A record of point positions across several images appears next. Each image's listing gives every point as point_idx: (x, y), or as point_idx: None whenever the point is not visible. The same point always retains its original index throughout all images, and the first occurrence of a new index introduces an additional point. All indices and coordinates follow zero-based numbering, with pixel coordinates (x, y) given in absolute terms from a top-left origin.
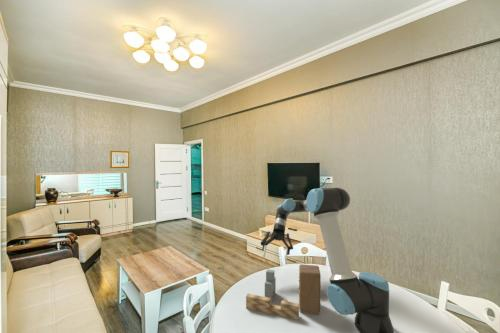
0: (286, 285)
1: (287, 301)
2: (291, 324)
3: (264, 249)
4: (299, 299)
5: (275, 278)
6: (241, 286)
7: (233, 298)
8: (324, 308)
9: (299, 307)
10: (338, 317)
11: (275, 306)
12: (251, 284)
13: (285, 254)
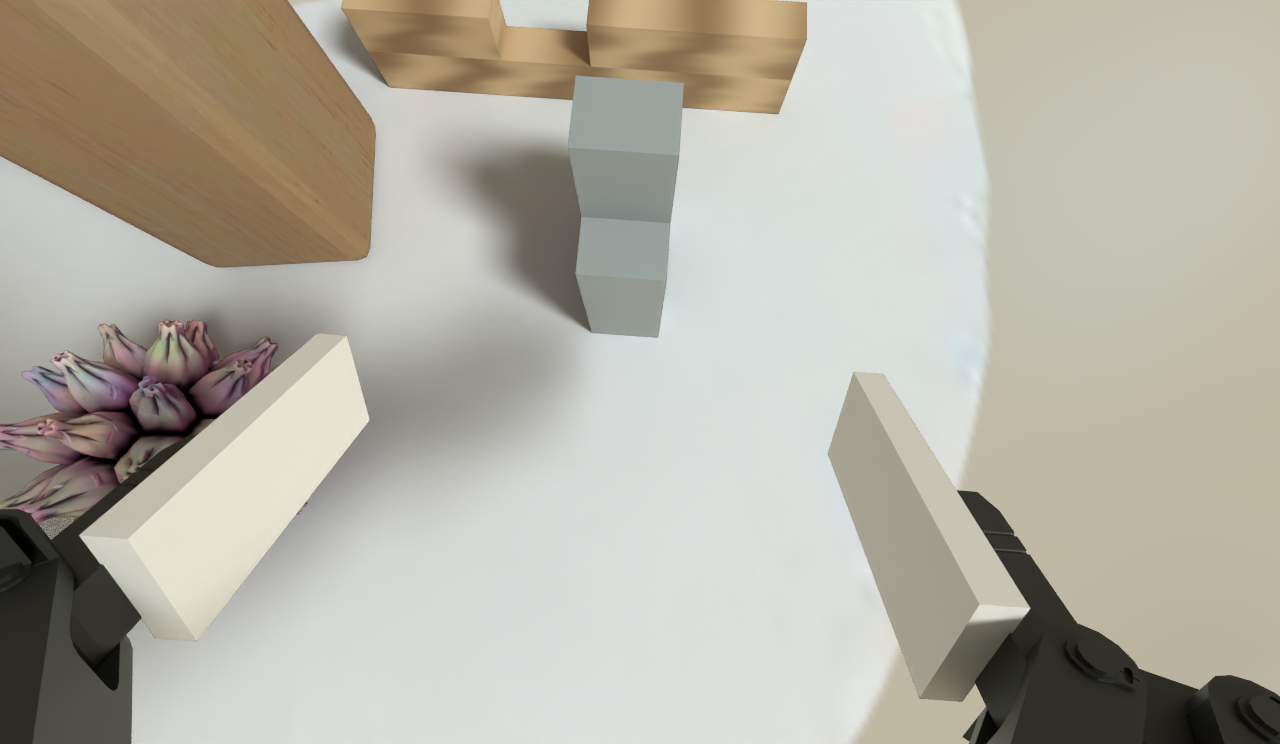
0: (496, 498)
1: (438, 14)
2: None
3: (926, 478)
4: (331, 66)
5: (577, 279)
6: (936, 358)
7: (921, 165)
8: None
9: (367, 115)
10: None
11: (550, 48)
12: None
13: (287, 390)
